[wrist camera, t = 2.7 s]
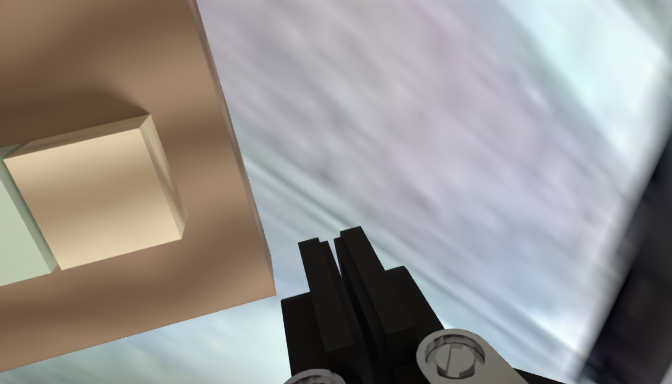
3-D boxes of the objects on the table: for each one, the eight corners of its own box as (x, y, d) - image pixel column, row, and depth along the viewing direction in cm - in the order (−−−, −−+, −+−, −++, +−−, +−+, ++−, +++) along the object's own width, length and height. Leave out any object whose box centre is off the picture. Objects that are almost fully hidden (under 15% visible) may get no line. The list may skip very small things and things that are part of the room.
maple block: (187, 214, 26) (181, 239, 23) (80, 241, 25) (61, 270, 23) (150, 113, 23) (139, 128, 21) (31, 141, 23) (3, 159, 20)
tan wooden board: (270, 256, 34) (276, 295, 29) (21, 323, 32) (-15, 376, 27) (184, -39, 25) (172, -49, 21) (-160, 27, 24) (-255, 32, 19)
